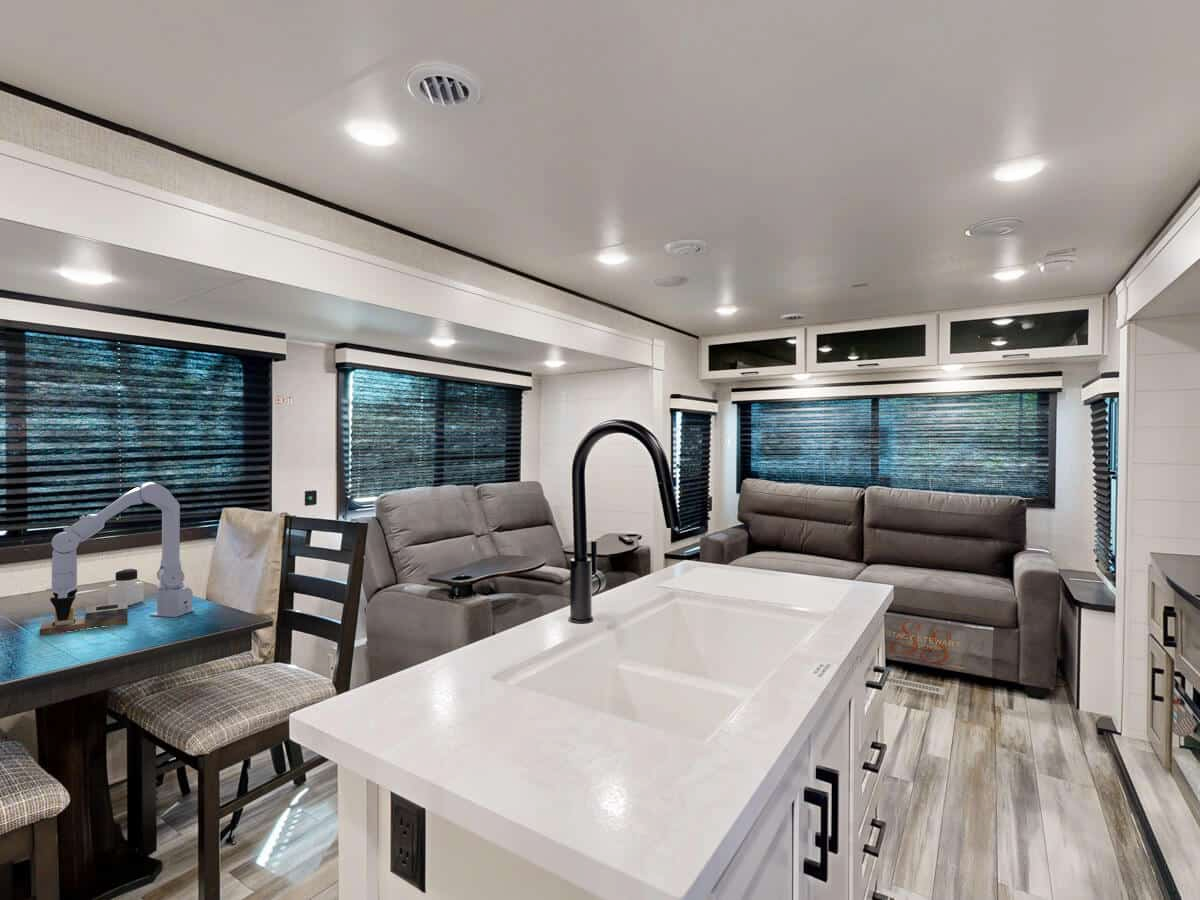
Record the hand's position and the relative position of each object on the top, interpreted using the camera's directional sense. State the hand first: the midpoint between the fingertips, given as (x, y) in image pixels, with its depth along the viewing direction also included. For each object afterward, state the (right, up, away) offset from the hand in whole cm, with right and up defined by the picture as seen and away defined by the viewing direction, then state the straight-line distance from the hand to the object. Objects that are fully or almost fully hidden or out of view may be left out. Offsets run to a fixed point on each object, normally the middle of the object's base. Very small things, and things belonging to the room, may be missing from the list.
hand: (63, 617), depth 180 cm
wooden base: (+4, -4, +3) cm, 6 cm away
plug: (0, -4, 0) cm, 4 cm away
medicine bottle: (-4, -4, +29) cm, 29 cm away
